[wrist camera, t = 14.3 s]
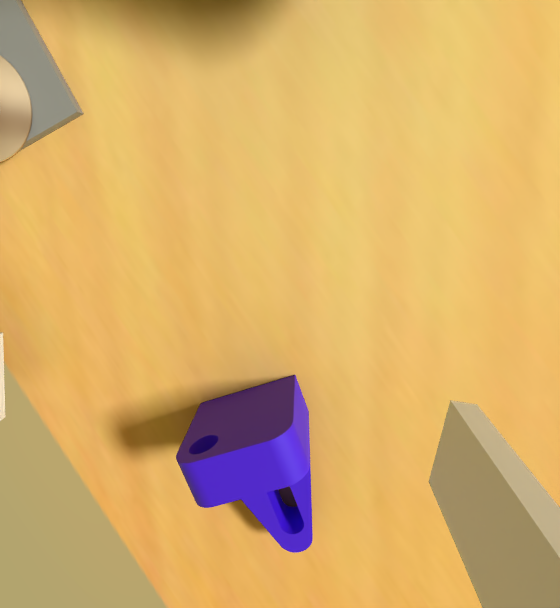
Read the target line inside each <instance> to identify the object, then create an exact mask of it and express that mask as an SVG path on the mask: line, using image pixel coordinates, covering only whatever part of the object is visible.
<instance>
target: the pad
mask: <svg viewBox="0 0 560 608" xmlns="http://www.w3.org/2000/svg"><path fill="white" fill-rule="evenodd" d="M32 115H33V114H32V104H31V99H30V95H29V92H28V89H27V87H26V85H25V83H24V81H23V79H22V77H21V76H20V74H19V73H18V72H17V70H16V69H15V68H14V67H13V66H12V65H11V64H10V63H9V62H8V61H7V60H6V59H5V58H3V57H2V56H0V162H3V161H5V160H7V159H9V158H11V157H13V156H14V155H15V154H16V153H18V151H19V150H20V149H21V148H22V147H23V145H24V144H25V142H26V140H27V138H28V136H29V133H30V130H31V126H32Z"/></svg>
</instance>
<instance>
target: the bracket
mask: <svg viewBox="0 0 560 608" xmlns="http://www.w3.org/2000/svg"><path fill="white" fill-rule="evenodd" d="M176 459H177V462H178V464H179V466H180V468H181V470H182V473H183V475H184V477H185V479H186V481H187V484H188V486H189V488H190V490H191V492H192V494H193V497H194V499H195V501H196V503H197V505H199V506H200V507H204V508H209V507H214V506H218V505H222V504H225V503H229V502H233V501H237V500H240V499H241V500H242V501H243V502H244V503H245V505H246V506H247V507H248V508H249V509H250V511H251V512H252V513H253V514H254V515H255V516H256V518H257V519H258V520H259V521H260V522H261V523H262V525H263V526H264V527H265V528H266V529H267V530H268V532H269V533H270V534H271V535H272V536H273V537H274V539H275V540H276V541H277V542H278V543H279V544H280V546H281V547H282V548H284V549H285V550H287V551H290V552H301V551H304V550H306V549H307V548H308V547H309V546H310V545H311V543H312V507H311V474H310V442H309V411H308V409H307V406H306V403H305V400H304V398H303V395H302V392H301V389H300V387H299V384H298V381H297V379H296V376H295V375H292V376H289V377H286V378H282V379H279V380H276V381H272V382H269V383H266V384H263V385H259V386H256V387H253V388H249V389H246V390H243V391H239V392H236V393H233V394H229V395H226V396H223V397H219V398H216V399H213V400H209V401H206V402H203V403H201V404H200V406H199V408H198V410H197V412H196V414H195V417H194V419H193V421H192V423H191V425H190V427H189V429H188V431H187V434H186V436H185V438H184V440H183V442H182V444H181V446H180V448H179V451H178V453H177V455H176ZM288 486H290V488H291V491H292V493H293V496H294V498H295V501H296V503H297V506H296V507H291V506H288V505H286V504H285V503H284V502H283V500H282V498H281V495H280V493H279V490H278V489H282V488H285V487H288Z"/></svg>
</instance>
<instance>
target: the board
mask: <svg viewBox="0 0 560 608" xmlns="http://www.w3.org/2000/svg"><path fill="white" fill-rule="evenodd" d="M0 56H2V57H3V58H5V59H6V60H7V61H8V62H9V63H10V64H11V65H12V66H13V67H14V68H15V69H16V70H17V72H18V73H19V74H20V76H21V77H22V79H23V81H24V83H25V85H26V87H27V89H28V92H29V95H30V99H31V104H32V114H33V115H32V126H31V130H30V133H29V136H28V138H27V140H26V142H25V144H24V145H23V147H22V148H21V149H20V150H22V149H24V148H25V147H27V146H29V145H31V144H32V143H34V142H36V141H37V140H39V139H41V138H43V137H44V136H46V135H48V134H50V133H51V132H53V131H55V130H56V129H58V128H60V127H62V126H63V125H65V124H67V123H69V122H70V121H72V120H74V119H75V118H77V117H79V116H81V115H82V114H83V112H82V110H81V108H80V106H79V105H78V103H77V101H76V99H75V97H74V96H73V94H72V92H71V90H70V88H69V86H68V85H67V83H66V81H65V79H64V77H63V76H62V74H61V72H60V70H59V68H58V66H57V65H56V63H55V61H54V59H53V57H52V56H51V54H50V52H49V50H48V48H47V46H46V45H45V43H44V41H43V39H42V37H41V36H40V34H39V32H38V30H37V28H36V26H35V25H34V23H33V21H32V19H31V17H30V16H29V14H28V12H27V10H26V8H25V7H24V5H23V3H22V1H21V0H0ZM20 150H19V151H20Z"/></svg>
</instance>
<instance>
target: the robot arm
mask: <svg viewBox="0 0 560 608" xmlns="http://www.w3.org/2000/svg"><path fill="white" fill-rule="evenodd" d="M4 394H5V391H4V353H3V333H0V421H1V420H2V419H3V418H4V417H5V395H4ZM429 484H430V486H431V488H432V491H433V493H434V495H435V498H436V500H437V502H438V505H439V507H440V509H441V512H442V514H443V516H444V519H445V521H446V523H447V526H448V528H449V530H450V533H451V535H452V537H453V540H454V542H455V544H456V547H457V549H458V551H459V554H460V556H461V558H462V561H463V563H464V565H465V568H466V570H467V572H468V575H469V577H470V579H471V582H472V584H473V586H474V589H475V591H476V593H477V596H478V598H479V600H480V603H481V605H482V607H483V608H560V507H559V506H558V505H557V504H556V502H555V501H554V500H553V499H552V497H551V496H550V495H549V494H548V492H547V491H546V490H545V489H544V487H543V486H542V485H541V484H540V482H539V481H538V480H537V479H536V477H535V476H534V475H533V474H532V472H531V471H530V470H529V469H528V467H527V466H526V465H525V464H524V462H523V461H522V460H521V459H520V457H519V456H518V455H517V454H516V452H515V451H514V450H513V449H512V447H511V446H510V445H509V444H508V443H507V441H506V440H505V439H504V438H503V436H502V435H501V434H500V433H499V431H498V430H497V429H496V428H495V426H494V425H493V424H492V423H491V421H490V420H489V419H488V418H487V416H486V415H485V414H484V413H483V411H482V410H481V409H480V408H479V406H478V405H477V404H471V403H464V402H458V401H451V400H450V404H449V408H448V412H447V415H446V419H445V423H444V426H443V430H442V434H441V438H440V441H439V445H438V449H437V453H436V456H435V460H434V464H433V468H432V471H431V475H430V479H429Z"/></svg>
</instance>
